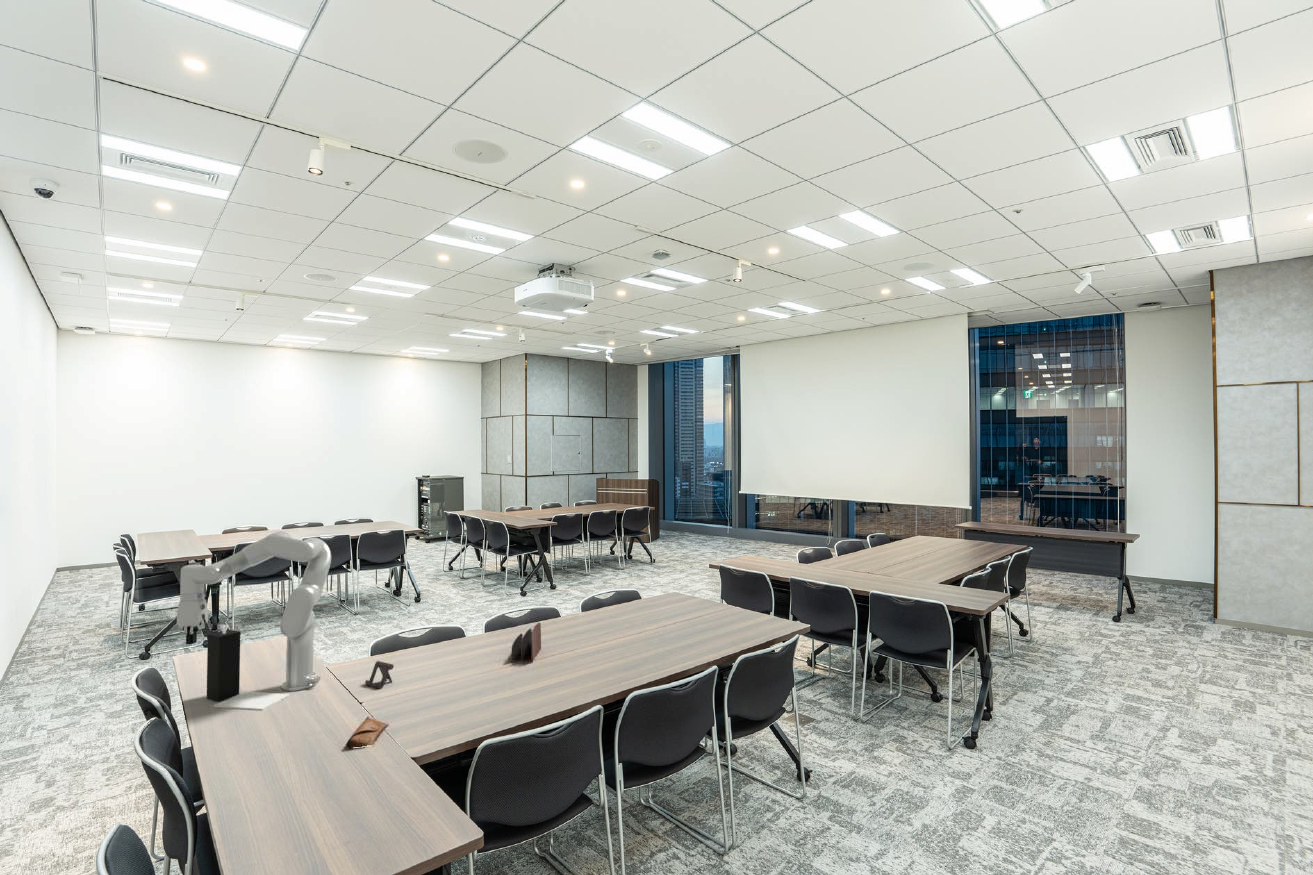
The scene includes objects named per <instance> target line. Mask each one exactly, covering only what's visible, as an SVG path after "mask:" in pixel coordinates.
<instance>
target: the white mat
mask: <svg viewBox="0 0 1313 875" xmlns="http://www.w3.org/2000/svg"><path fill="white" fill-rule="evenodd" d="M290 696H291V693H277V692H258V691H242V692H239V694H238V695H236V696H234V697H231V698H228V699H225V700H222V701H220V702H219V703H218V704H215V705H214V708H225V709H239V710H241V709H242V710H256V711H264V710H266V709H267V708H270V707H272V706H273V705H275V704H277V703H279V702H280V701H281V702H282V699H283V700H285V699H287V698H289V697H290ZM286 697H287V698H286ZM278 701H279V702H278Z"/></svg>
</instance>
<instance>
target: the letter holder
mask: <svg viewBox="0 0 1313 875" xmlns="http://www.w3.org/2000/svg"><path fill="white" fill-rule="evenodd" d="M541 626H542V625H541V622H538V623H536V624H535V626H534V627H533V629H532V628H529V629H527V631H526V632H525V633H524V634H523V633H520V634H519V635H517V637H516V638H515V639H514V641H513V643H512V645H511V655H510V656H511V658H510V663H513V664H514V663H517V662H533V663H534V661H535V659H536V658H537V656H538V655H539V653H540V652H541V650H542V627H541ZM540 649H541V650H540ZM539 651H540V652H539ZM537 654H538V655H537ZM535 657H536V658H535ZM533 660H534V661H533Z"/></svg>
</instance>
